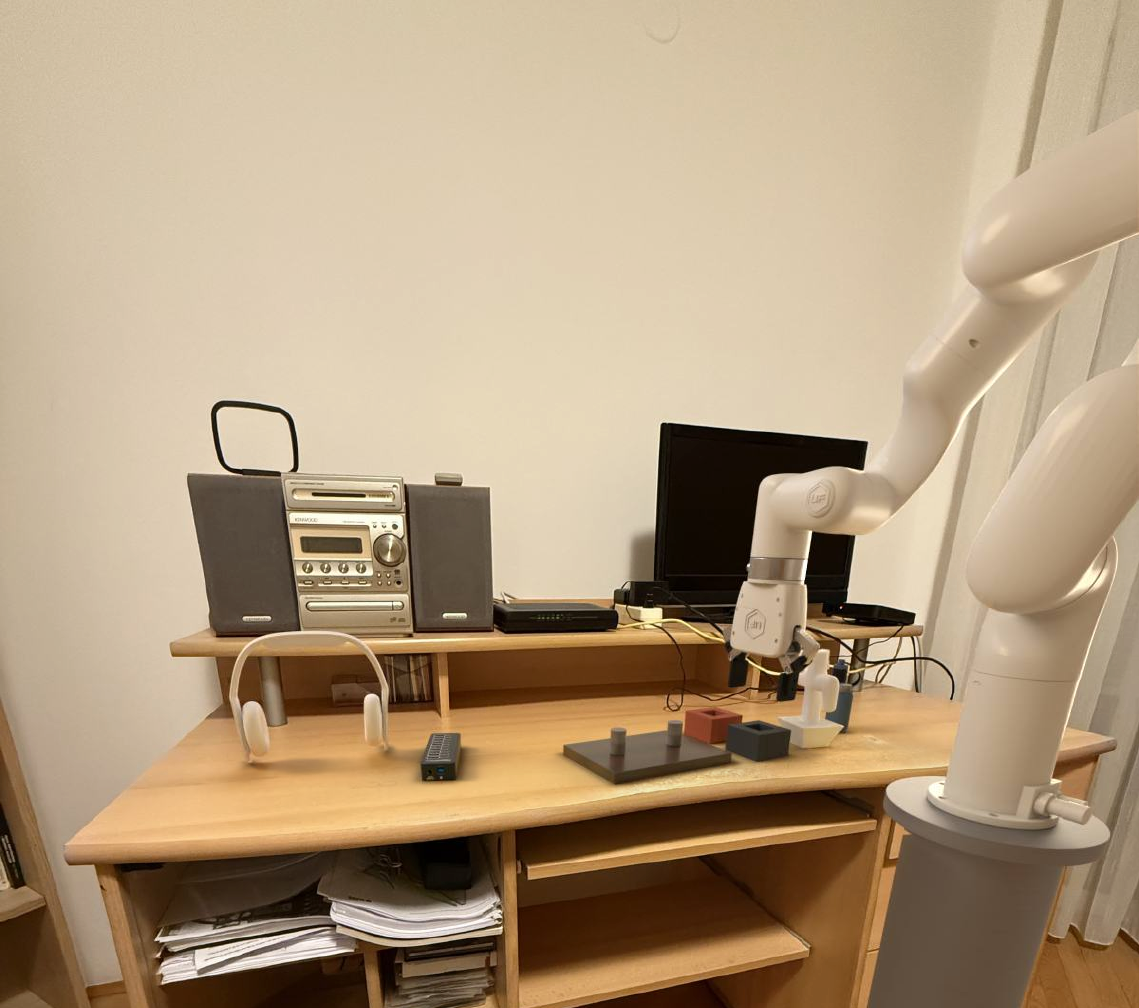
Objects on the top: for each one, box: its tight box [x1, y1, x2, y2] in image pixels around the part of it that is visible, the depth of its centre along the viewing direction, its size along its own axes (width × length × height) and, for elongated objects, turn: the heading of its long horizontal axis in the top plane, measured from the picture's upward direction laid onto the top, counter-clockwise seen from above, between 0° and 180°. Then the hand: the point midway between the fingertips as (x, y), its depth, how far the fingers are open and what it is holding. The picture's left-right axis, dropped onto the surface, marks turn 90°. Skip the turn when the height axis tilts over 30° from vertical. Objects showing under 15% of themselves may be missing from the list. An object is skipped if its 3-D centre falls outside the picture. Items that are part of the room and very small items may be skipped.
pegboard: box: [562, 719, 733, 785], centre depth 87 cm, size 14×20×5 cm
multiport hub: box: [420, 732, 462, 782], centre depth 84 cm, size 4×14×2 cm, turn 7°
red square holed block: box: [683, 706, 744, 745], centre depth 99 cm, size 6×6×4 cm
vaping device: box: [824, 658, 854, 734], centre depth 103 cm, size 3×5×12 cm, turn 4°
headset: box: [228, 630, 390, 764], centre depth 82 cm, size 20×7×18 cm, turn 111°
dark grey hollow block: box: [725, 719, 791, 762], centre depth 91 cm, size 6×6×4 cm
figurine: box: [776, 648, 844, 749], centre depth 94 cm, size 7×9×15 cm
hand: (759, 693), depth 89 cm, fingers open, 9 cm apart
